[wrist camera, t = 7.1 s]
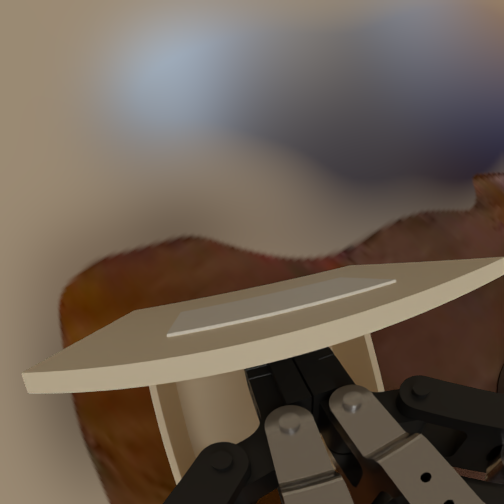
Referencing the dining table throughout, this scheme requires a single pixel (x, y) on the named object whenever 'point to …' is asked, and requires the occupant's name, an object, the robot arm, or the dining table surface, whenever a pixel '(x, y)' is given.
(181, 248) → the dining table surface
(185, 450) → the cardboard box
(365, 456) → the robot arm
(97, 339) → the box lid
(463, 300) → the dining table surface
